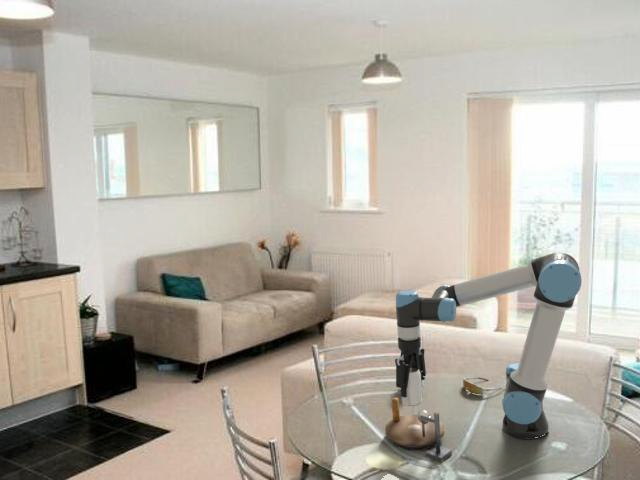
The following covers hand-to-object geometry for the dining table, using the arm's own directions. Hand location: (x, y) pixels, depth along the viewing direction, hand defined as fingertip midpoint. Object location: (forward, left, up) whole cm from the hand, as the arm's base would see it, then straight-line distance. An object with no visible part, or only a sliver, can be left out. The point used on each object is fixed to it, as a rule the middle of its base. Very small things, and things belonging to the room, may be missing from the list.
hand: (412, 401), depth 221 cm
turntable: (0, 0, -11) cm, 11 cm away
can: (0, 0, -1) cm, 1 cm away
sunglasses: (+2, -49, -14) cm, 51 cm away
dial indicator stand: (-11, +5, -14) cm, 18 cm away
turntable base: (0, 0, -14) cm, 14 cm away
